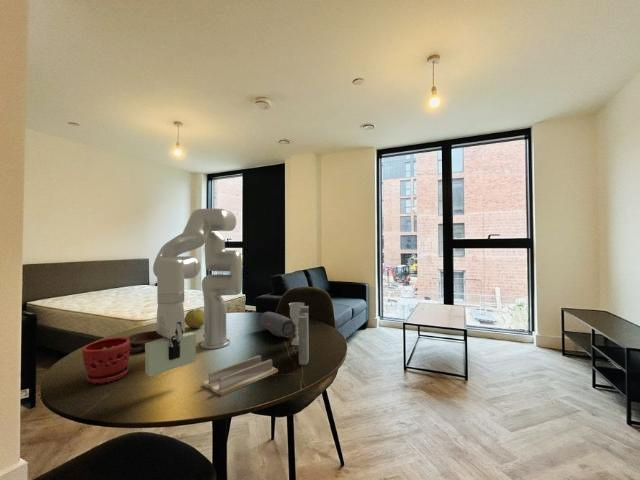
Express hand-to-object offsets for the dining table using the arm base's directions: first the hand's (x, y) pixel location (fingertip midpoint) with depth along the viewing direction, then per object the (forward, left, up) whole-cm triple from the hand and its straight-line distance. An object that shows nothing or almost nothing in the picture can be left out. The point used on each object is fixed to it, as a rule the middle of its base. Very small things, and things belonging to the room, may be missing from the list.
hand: (171, 356), depth 93 cm
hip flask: (+13, +46, -10) cm, 49 cm away
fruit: (-63, +40, -10) cm, 75 cm away
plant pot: (-26, -10, -10) cm, 30 cm away
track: (+10, +19, -10) cm, 24 cm away
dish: (-51, +12, -11) cm, 53 cm away
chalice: (-1, +56, -10) cm, 57 cm away
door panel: (0, 0, -3) cm, 3 cm away
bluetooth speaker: (-19, +60, -10) cm, 63 cm away
